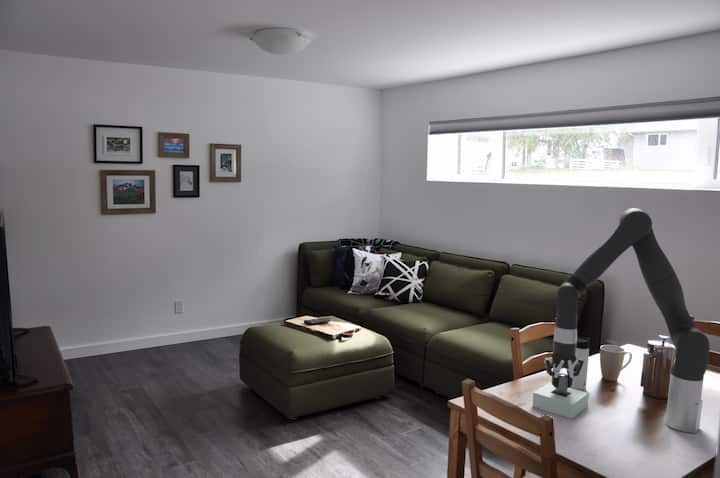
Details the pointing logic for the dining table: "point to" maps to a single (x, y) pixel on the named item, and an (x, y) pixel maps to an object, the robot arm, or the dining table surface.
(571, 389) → the socket block
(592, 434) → the dining table surface
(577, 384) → the travel mug
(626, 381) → the dining table surface
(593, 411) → the dining table surface
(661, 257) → the robot arm
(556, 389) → the pin
